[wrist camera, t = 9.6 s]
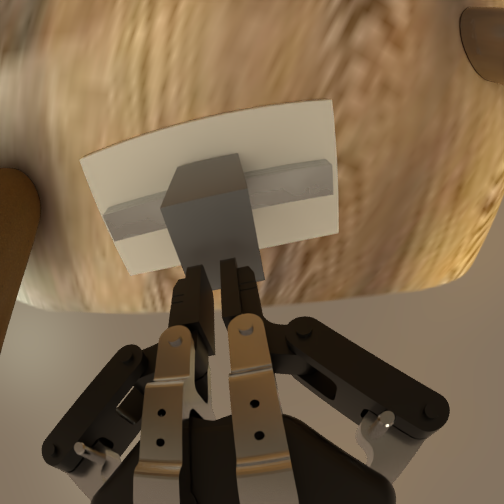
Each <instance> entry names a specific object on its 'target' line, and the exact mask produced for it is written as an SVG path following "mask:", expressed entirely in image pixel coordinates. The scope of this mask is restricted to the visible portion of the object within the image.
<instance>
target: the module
mask: <svg viewBox="0 0 504 504" xmlns="http://www.w3.org/2000/svg"><path fill="white" fill-rule="evenodd" d="M160 210H161V213H162V215H163V218H164V221H165V224H166V226H167V229H168V232H169V235H170V237H171V240H172V243H173V245H174V248H175V250H176V253H177V256H178V258H179V261H180V263H181V266H182V268H183V271H184V273H185V276H186V270H187V267H191V266H195V265H200V264H203V266H204V269H205V271H206V274H207V277H208V280H209V283H210V285H211V288H212V290H217V289H221V280H220V260H225V259H230V258H236V261H237V265H238V268H240V267H245V266H249V267H250V268H251V269H252V270H253V271H254V274H255V279H256V282H258V281H263V280H265V278H264V272H263V267H262V262H261V256H260V251H259V245H258V240H257V235H256V229H255V224H254V219H253V213H252V208H251V203H250V198H249V192H248V188H247V184H246V180H245V177H244V173H243V169H242V166H241V162H240V158H239V155H238V153H235V154H230V155H226V156H221V157H216V158H212V159H207V160H203V161H199V162H195V163H191V164H187V165H183V166H179V167H177V169H176V171H175V174H174V176H173V178H172V180H171V183H170V185H169V187H168V190H167V192H166V195H165V197H164V200H163V202H162V205H161V207H160Z"/></svg>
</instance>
